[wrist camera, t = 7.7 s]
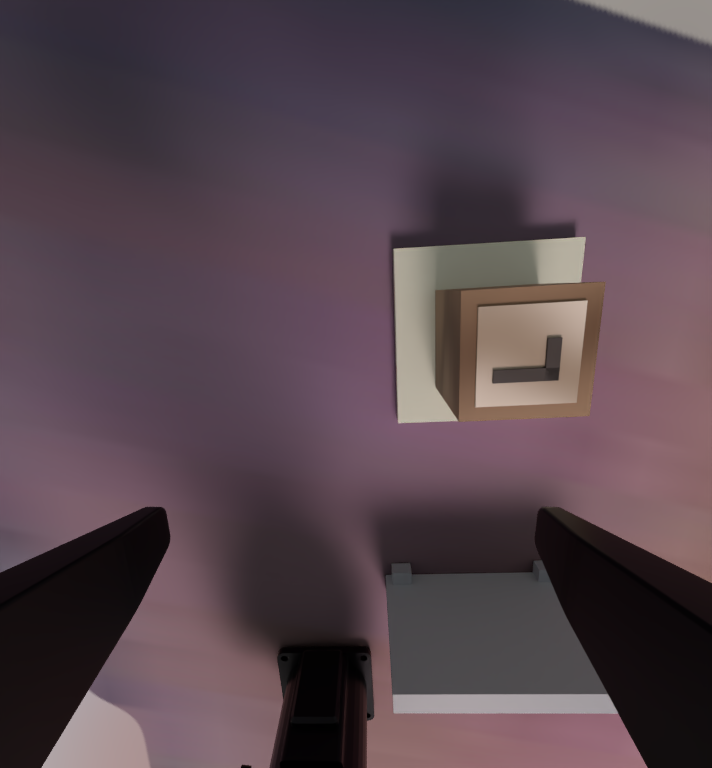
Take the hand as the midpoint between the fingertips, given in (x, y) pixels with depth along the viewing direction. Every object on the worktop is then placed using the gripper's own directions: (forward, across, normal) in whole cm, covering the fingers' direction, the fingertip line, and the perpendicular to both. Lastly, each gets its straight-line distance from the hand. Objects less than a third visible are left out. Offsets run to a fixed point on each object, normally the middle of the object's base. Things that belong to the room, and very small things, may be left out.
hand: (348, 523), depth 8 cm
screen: (+12, -7, +13) cm, 19 cm away
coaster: (+12, -6, -3) cm, 14 cm away
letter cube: (+11, -6, -3) cm, 13 cm away
